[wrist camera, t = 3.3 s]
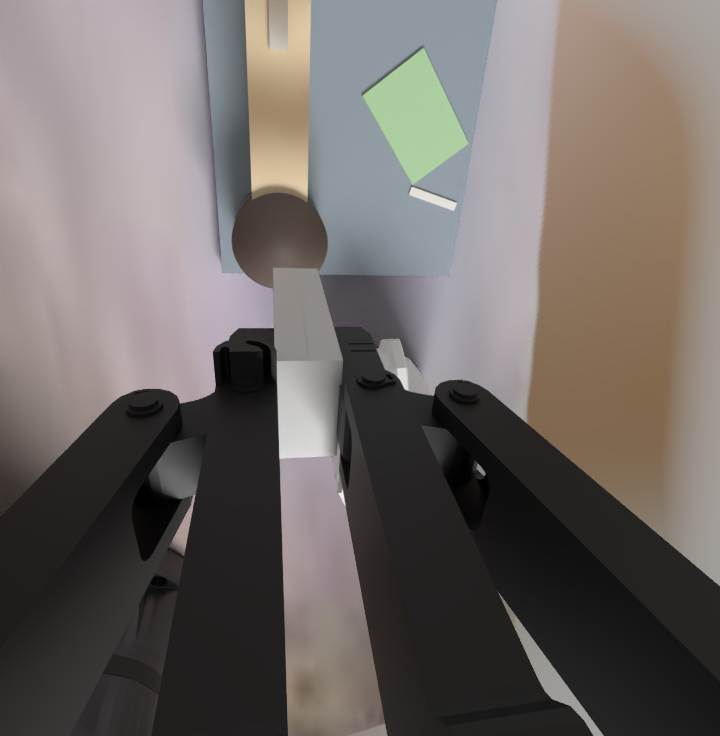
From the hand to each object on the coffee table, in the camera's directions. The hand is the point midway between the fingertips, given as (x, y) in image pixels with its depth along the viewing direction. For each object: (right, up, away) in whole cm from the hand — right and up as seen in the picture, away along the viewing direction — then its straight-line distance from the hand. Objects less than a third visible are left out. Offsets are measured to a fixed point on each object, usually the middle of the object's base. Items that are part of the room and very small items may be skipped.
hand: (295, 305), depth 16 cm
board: (+1, +11, +11) cm, 16 cm away
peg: (-2, +10, +9) cm, 14 cm away
